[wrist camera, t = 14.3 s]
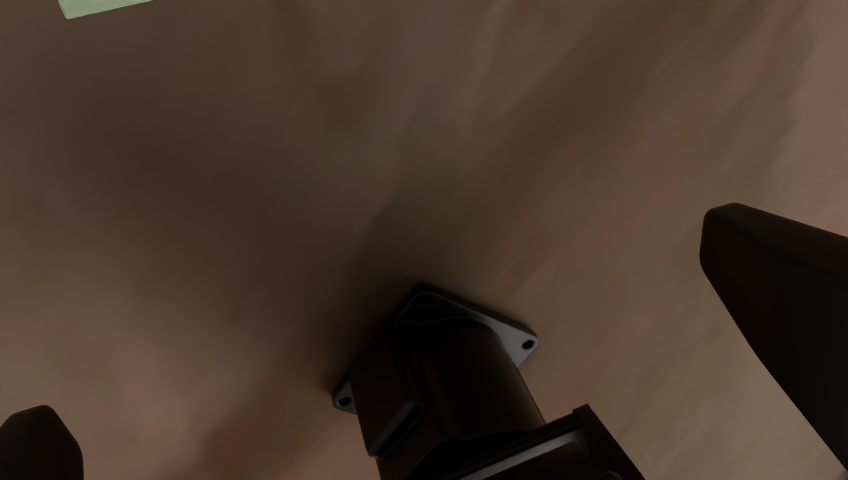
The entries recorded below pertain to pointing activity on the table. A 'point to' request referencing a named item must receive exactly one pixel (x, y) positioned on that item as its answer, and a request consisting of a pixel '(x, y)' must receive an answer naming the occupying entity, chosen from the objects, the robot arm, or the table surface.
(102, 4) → the bin
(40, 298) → the table surface
